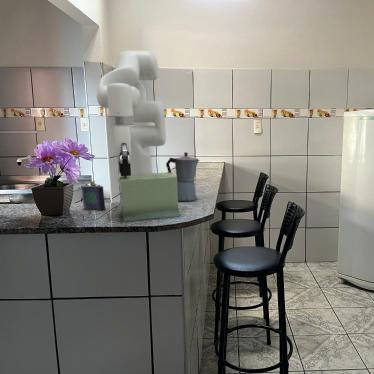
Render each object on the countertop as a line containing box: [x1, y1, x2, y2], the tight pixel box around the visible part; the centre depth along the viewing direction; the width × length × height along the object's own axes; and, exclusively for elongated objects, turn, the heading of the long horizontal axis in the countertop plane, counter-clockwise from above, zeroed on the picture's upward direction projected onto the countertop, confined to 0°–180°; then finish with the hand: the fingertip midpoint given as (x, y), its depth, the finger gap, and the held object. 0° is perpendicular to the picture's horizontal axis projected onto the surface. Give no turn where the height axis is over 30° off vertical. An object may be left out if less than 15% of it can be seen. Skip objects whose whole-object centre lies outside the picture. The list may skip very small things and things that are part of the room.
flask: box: [81, 180, 106, 211], centre depth 136 cm, size 9×3×11 cm, turn 72°
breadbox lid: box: [116, 171, 177, 183], centre depth 124 cm, size 18×15×5 cm
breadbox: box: [119, 179, 180, 223], centre depth 125 cm, size 18×15×13 cm
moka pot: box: [165, 152, 200, 202], centre depth 151 cm, size 10×15×20 cm, turn 134°
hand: (125, 174), depth 122 cm, fingers open, 9 cm apart
